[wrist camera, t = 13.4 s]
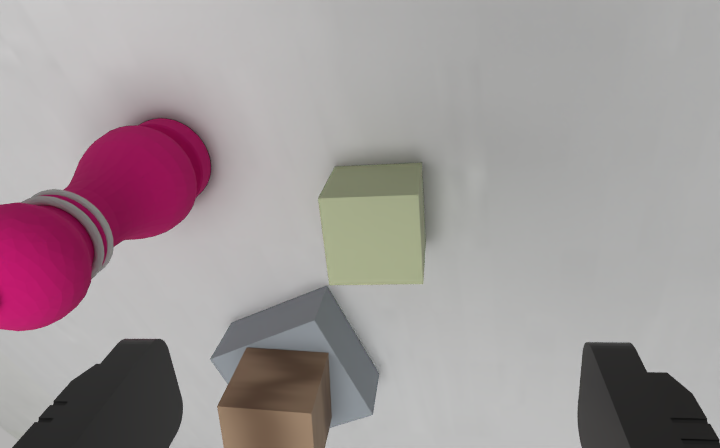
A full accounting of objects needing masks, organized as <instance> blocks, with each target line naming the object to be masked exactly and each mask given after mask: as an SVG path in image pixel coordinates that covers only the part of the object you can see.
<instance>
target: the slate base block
mask: <svg viewBox="0 0 720 448" xmlns="http://www.w3.org/2000/svg"><path fill="white" fill-rule="evenodd" d="M246 348H263V349H279V350H294V351H310V352H326V353H329V372H330V392H331V412H332V419H331V423H330V427H329V428H331V427H334V426H338V425H341V424H344V423H348V422H351V421H354V420H357V419H361V418H364V417H367V416H371V415H373V410H374V404H375V397H376V391H377V384H378V378H379V372H378V371H377V369H376V367H375V366H374V364H373V362H372V361H371V359H370V357H369V356H368V354H367V352H366V351H365V349H364V347H363V346H362V344H361V342H360V340H359V339H358V337H357V335H356V334H355V332H354V330H353V329H352V327H351V325H350V324H349V322H348V320H347V319H346V317H345V315H344V314H343V312H342V310H341V309H340V307H339V305H338V304H337V302H336V300H335V298H334V297H333V295H332V293H331V292H330V290H329V288H328V287H327V286H325V287H322V288H320V289H317V290H314V291H312V292H309V293H307V294H304V295H302V296H299V297H297V298H294V299H291V300H289V301H286V302H284V303H281V304H279V305H276V306H274V307H271V308H268V309H266V310H263V311H261V312H258V313H256V314H253V315H251V316H248V317H245V318H243V319H240V320H238V321H235V322H233V323H231V325H230V326H229V328H228V330H227V331H226V333H225V335H224V336H223V338H222V340H221V342H220V343H219V345H218V347H217V348H216V350H215V352H214V353H213V355H212V357H211V359H210V360H211V361H212V363H213V364H214V365H215V367H216V368H217V370H218V371H219V372H220V374H221V375H222V377H223V378H224V379H225V381H226V382H227V384H229V382H230V380H231V378H232V376H233V374H234V372H235V370H236V368H237V366H238V364H239V362H240V360H241V358H242V356H243V354H244V352H245V350H246Z"/></svg>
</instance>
